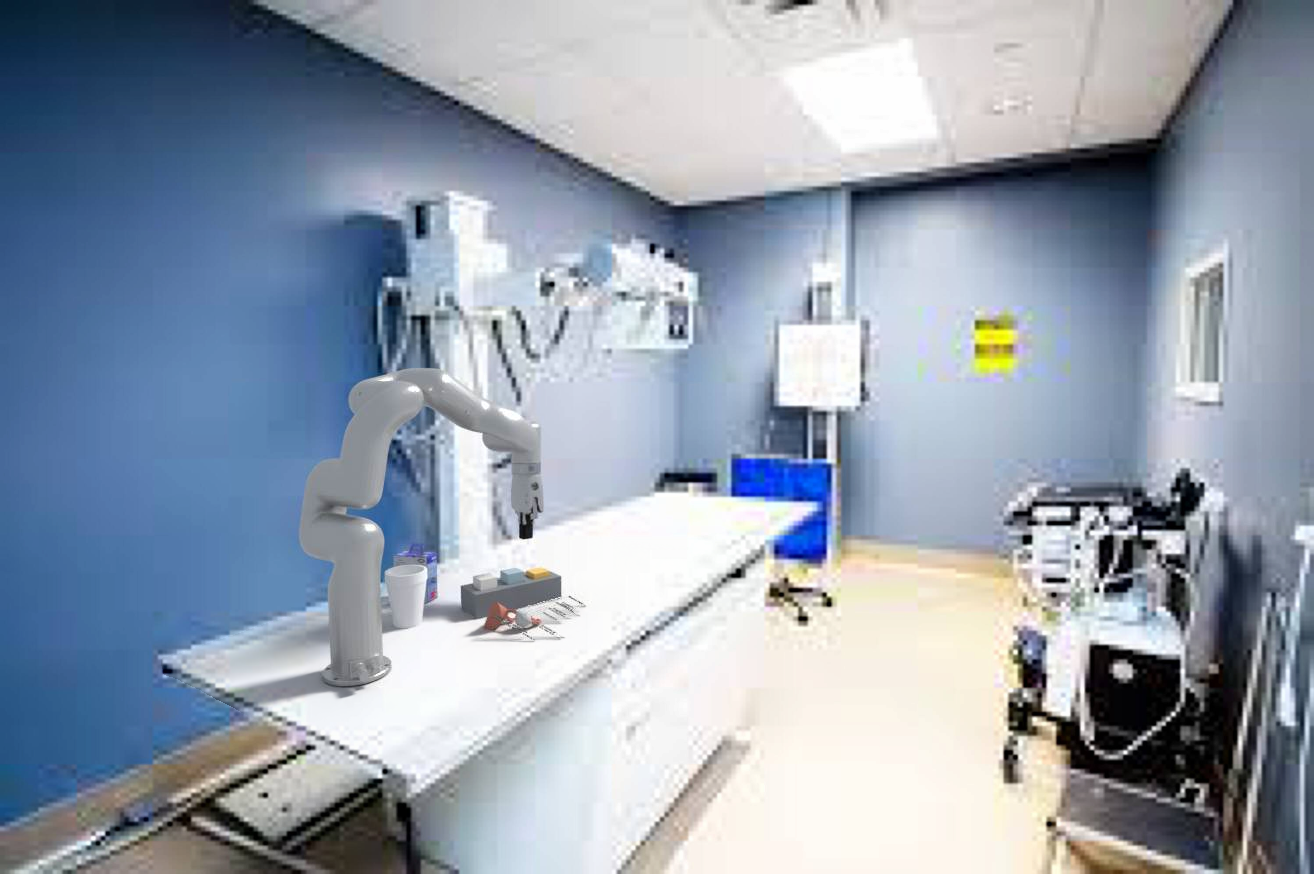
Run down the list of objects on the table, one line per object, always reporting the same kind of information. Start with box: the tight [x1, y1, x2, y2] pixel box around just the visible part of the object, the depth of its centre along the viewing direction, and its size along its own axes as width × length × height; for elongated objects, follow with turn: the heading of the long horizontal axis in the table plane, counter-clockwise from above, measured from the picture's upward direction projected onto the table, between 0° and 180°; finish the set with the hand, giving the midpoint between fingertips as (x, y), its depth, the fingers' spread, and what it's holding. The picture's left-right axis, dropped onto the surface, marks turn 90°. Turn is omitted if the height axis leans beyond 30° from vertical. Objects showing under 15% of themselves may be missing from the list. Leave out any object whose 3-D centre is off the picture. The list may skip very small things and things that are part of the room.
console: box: [460, 569, 562, 620], centre depth 175 cm, size 9×24×6 cm, turn 130°
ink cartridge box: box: [393, 542, 438, 604], centre depth 178 cm, size 10×6×14 cm, turn 78°
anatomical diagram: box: [482, 595, 584, 640], centre depth 164 cm, size 20×9×25 cm
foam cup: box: [384, 565, 428, 630], centre depth 160 cm, size 10×9×13 cm
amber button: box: [526, 566, 550, 579], centre depth 180 cm, size 4×4×4 cm
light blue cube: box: [499, 567, 525, 585], centre depth 175 cm, size 4×4×4 cm
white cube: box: [472, 572, 498, 591], centre depth 170 cm, size 4×4×4 cm
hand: (525, 538), depth 178 cm, fingers closed
